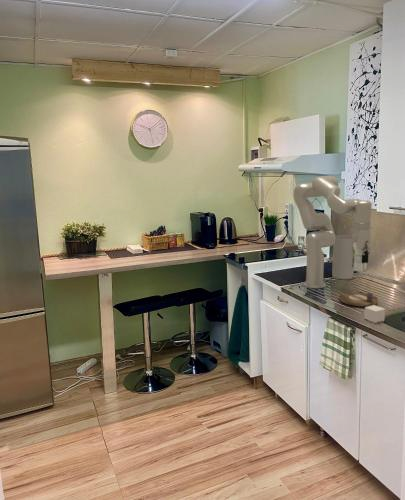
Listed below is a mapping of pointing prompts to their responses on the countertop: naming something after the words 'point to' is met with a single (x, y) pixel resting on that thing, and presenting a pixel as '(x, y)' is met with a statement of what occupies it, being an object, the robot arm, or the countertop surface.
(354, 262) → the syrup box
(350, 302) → the turntable
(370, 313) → the white cube
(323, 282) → the robot arm
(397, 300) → the countertop surface
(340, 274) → the cylinder vase
